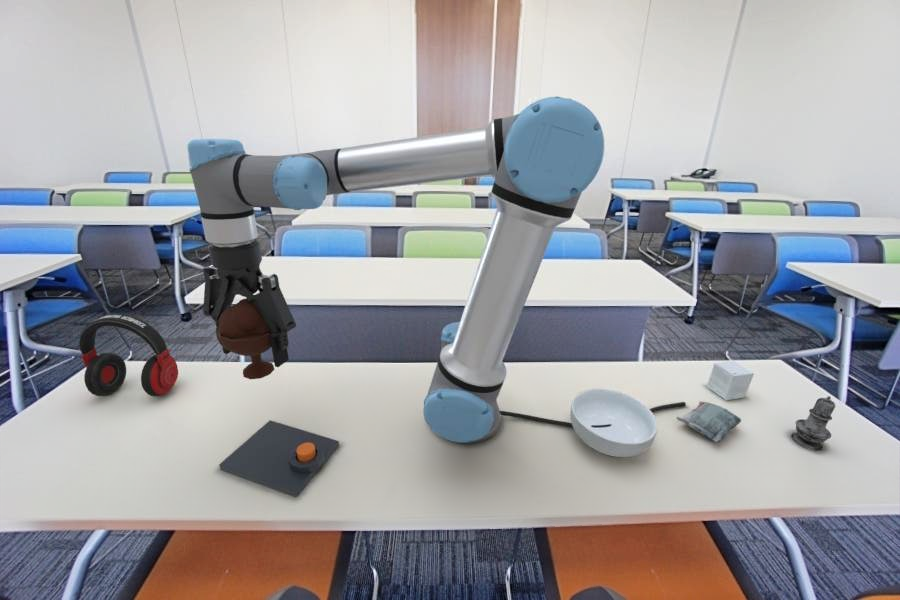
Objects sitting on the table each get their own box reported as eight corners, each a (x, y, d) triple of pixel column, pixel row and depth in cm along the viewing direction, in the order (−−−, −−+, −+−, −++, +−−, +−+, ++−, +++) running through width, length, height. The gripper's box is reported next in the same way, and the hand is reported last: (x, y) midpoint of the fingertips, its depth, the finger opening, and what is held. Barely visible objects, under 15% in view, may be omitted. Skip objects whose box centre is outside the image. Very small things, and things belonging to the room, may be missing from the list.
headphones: (83, 405, 89) (50, 326, 81) (116, 379, 98) (89, 306, 90) (164, 405, 90) (139, 327, 82) (189, 380, 99) (169, 307, 91)
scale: (341, 447, 80) (340, 435, 79) (299, 498, 69) (297, 486, 68) (270, 425, 85) (268, 414, 84) (220, 470, 74) (217, 458, 73)
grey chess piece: (824, 456, 82) (849, 409, 77) (788, 441, 85) (810, 396, 81) (824, 441, 86) (849, 396, 81) (790, 428, 89) (811, 384, 85)
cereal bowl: (557, 412, 92) (562, 386, 89) (628, 413, 92) (635, 388, 90) (580, 470, 76) (586, 441, 74) (665, 471, 77) (675, 443, 74)
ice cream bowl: (299, 357, 79) (289, 287, 73) (270, 391, 69) (255, 313, 63) (248, 353, 80) (234, 284, 74) (212, 385, 70) (193, 308, 64)
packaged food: (673, 426, 89) (679, 408, 87) (698, 407, 95) (705, 390, 93) (715, 451, 82) (723, 432, 80) (739, 429, 89) (747, 411, 87)
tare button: (319, 452, 75) (318, 445, 74) (308, 464, 72) (307, 457, 72) (305, 447, 76) (304, 440, 75) (293, 459, 73) (292, 452, 73)
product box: (745, 398, 99) (755, 373, 96) (725, 401, 98) (734, 376, 95) (724, 383, 105) (733, 360, 102) (705, 386, 103) (713, 362, 100)
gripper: (308, 243, 64) (322, 359, 73) (199, 228, 71) (223, 335, 80) (275, 256, 58) (294, 381, 67) (159, 238, 65) (190, 353, 74)
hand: (255, 356), depth 73 cm, fingers closed on ice cream bowl, 11 cm apart
